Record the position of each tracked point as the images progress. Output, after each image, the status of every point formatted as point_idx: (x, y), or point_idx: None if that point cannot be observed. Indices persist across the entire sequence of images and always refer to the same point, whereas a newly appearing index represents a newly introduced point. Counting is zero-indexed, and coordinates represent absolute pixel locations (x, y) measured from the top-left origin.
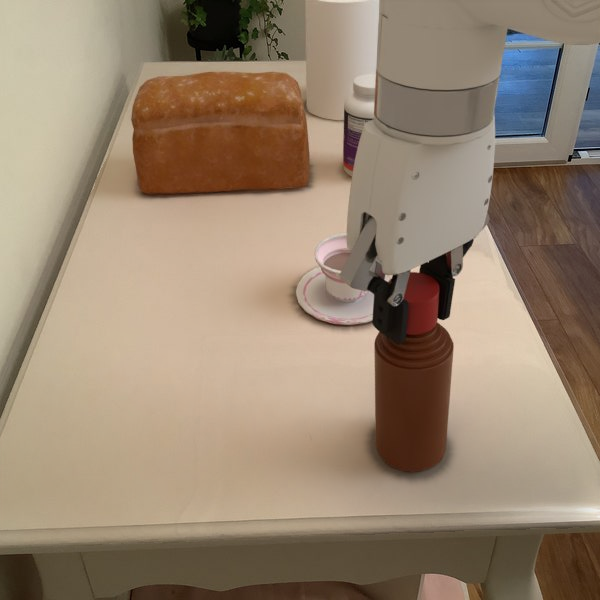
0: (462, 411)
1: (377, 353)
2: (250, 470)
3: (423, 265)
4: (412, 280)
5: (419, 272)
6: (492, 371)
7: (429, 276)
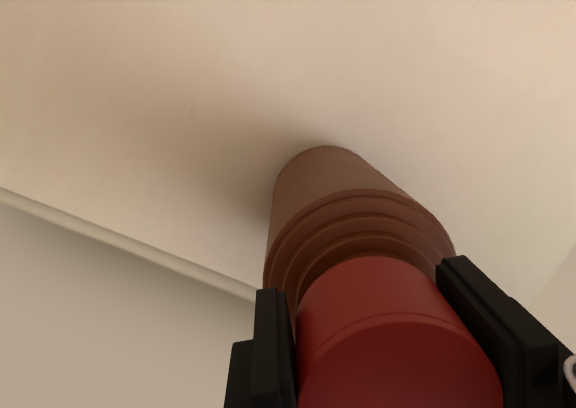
0: (440, 177)
1: (264, 270)
2: (76, 128)
3: (525, 362)
4: (426, 383)
5: (495, 329)
6: (549, 125)
7: (499, 393)
